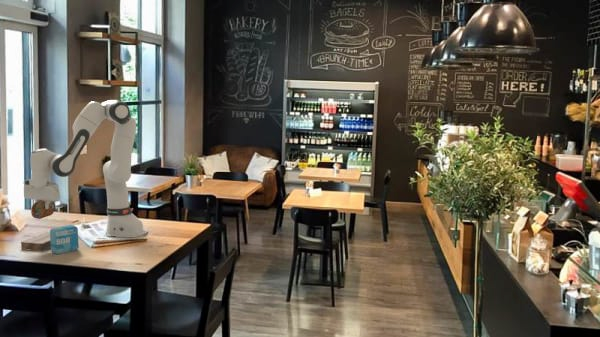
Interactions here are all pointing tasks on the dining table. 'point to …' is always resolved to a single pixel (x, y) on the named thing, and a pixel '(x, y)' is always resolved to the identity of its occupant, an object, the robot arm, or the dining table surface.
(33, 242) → the walnut block
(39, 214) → the tin
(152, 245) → the dining table surface
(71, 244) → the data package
